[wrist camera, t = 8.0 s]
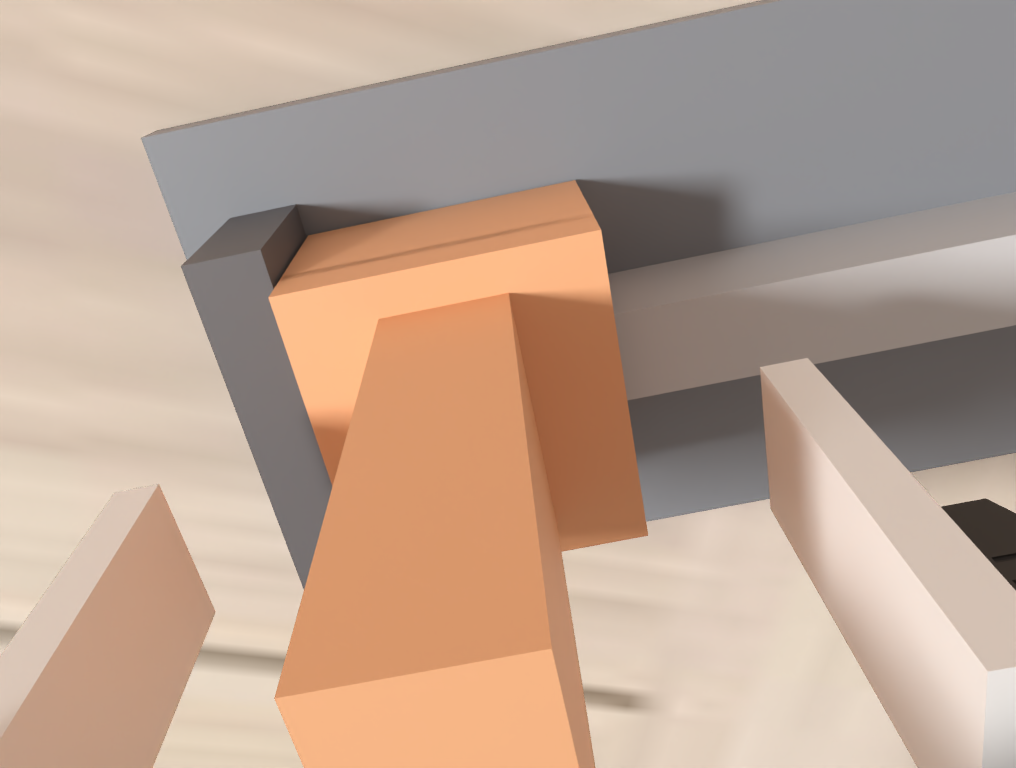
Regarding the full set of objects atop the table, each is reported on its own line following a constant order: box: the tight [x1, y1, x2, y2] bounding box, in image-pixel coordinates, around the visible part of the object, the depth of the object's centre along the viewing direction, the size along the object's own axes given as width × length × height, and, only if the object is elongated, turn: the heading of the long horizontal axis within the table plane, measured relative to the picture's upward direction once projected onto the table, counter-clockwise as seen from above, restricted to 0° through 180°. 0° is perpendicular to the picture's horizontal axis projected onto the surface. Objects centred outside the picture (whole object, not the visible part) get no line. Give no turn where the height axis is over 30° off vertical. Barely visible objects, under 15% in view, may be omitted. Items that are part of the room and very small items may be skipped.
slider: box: [268, 180, 648, 768], centre depth 14 cm, size 6×7×13 cm
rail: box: [141, 0, 1016, 589], centre depth 19 cm, size 25×12×4 cm, turn 101°
